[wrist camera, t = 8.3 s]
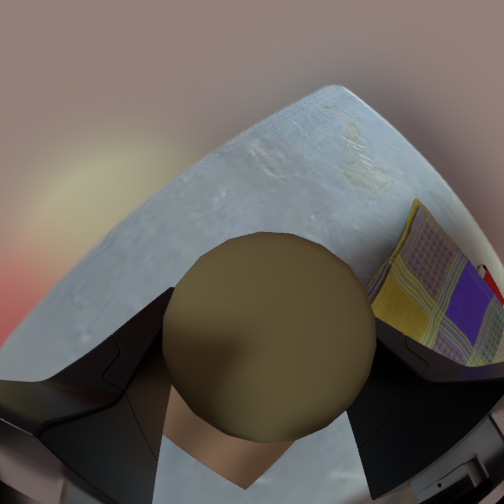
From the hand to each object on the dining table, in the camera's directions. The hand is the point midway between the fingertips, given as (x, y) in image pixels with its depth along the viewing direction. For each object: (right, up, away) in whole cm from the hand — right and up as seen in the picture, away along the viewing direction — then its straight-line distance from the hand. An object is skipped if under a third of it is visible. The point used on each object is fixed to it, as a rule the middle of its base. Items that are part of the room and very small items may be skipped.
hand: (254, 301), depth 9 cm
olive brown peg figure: (-1, -4, +6) cm, 7 cm away
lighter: (+33, -4, +18) cm, 38 cm away
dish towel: (+22, -6, +15) cm, 27 cm away
